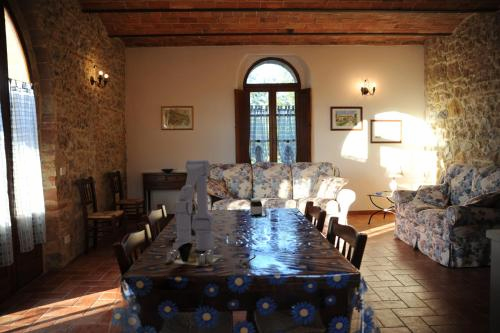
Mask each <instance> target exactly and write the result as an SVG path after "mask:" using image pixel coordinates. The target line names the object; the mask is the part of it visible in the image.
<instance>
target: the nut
mask: <svg viewBox="0 0 500 333" xmlns="http://www.w3.org/2000/svg"><path fill="white" fill-rule="evenodd" d="M196 253H197V252H195V251H194V252H193V251H190V254H189V259H188V262H195V261H196Z"/></svg>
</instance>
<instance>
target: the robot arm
mask: <svg viewBox="0 0 500 333" xmlns="http://www.w3.org/2000/svg"><path fill="white" fill-rule="evenodd" d="M210 166H211V165H210V162H209V160H208V159H206V158H205V159H187V160H186V162H185V172H186V174H187V175H186V181H185V185H183V186H182V187H181V191H180V192H179V196H178V199H177V201H175V202H174V204H173V212H174V217H175V219H176V235H177V237H176V238H175V239H174V241H175V242H173V243H172V248H173V249H177V252H178V254H179V253H180V256H181V259H182V262H188V259H189V254H190V252H192V251H191V250H192V248H193V246H194V243H193V242H192V241H196V250H197V251H206V250H216V249H217V246H216V240H215V238H216V237H215V236H216V235H215V233H214V230H215V229H216V228H215V227H216V222H215V215H214V214H213V213H212V212H210V211H209V210H208V209H209V208H208V207H209V206H208V185H207V182H208V181H207V180H208V177H210V174H211V169H210V168H211V167H210ZM195 185H196V190H195V188H194V187H195ZM195 192H196V207H197V209H196V210H197V211H196V212H195V215H194V216H193V221H192V228H193V230H194V231H195V236H191V217H190V214H191V212H192V205H193V203H194V202H193V200H194V196H195Z"/></svg>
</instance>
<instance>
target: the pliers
mask: <svg viewBox="0 0 500 333" xmlns="http://www.w3.org/2000/svg"><path fill="white" fill-rule="evenodd" d="M256 257H257V256H256V254H255V253H253V257H251V258H249V259H247V260H242V259H240V260H239V262H240V263H239V267H240V268H241V269H242V268H243V267H244V265H245V266H246V268H247V267H248V268H249V267H250V266H251V265H250V262H251V261H252V259H253V260H254V259H255V258H256Z"/></svg>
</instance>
